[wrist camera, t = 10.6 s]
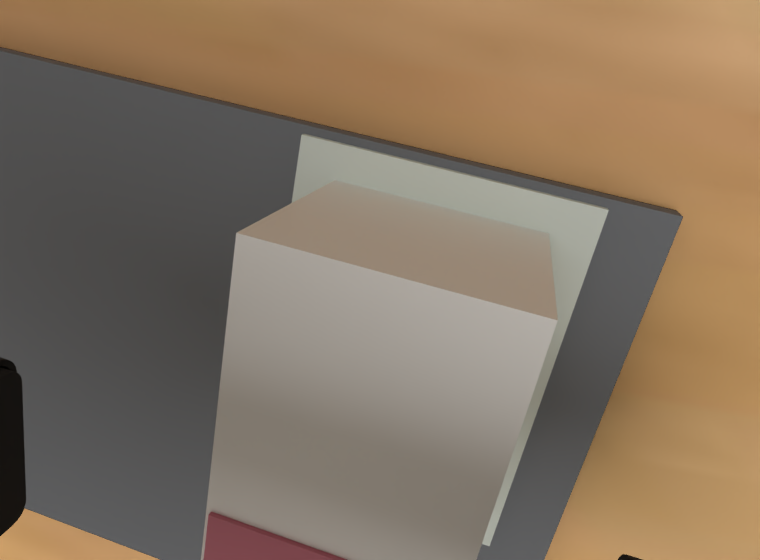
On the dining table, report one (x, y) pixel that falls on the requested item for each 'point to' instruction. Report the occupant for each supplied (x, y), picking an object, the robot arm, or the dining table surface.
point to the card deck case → (373, 378)
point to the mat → (212, 289)
